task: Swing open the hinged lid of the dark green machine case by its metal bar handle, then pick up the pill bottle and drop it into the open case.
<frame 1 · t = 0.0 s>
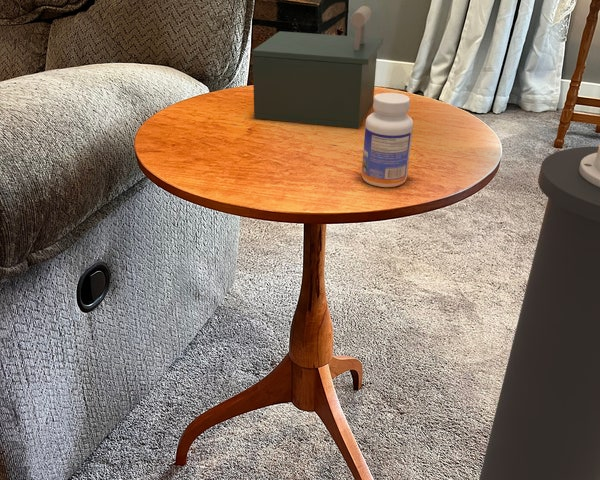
pill bottle: (383, 180, 77), on the table
case lid: (321, 28, 93), point 12 cm above the table, hinge at 0.0°
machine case: (316, 109, 99), on the table
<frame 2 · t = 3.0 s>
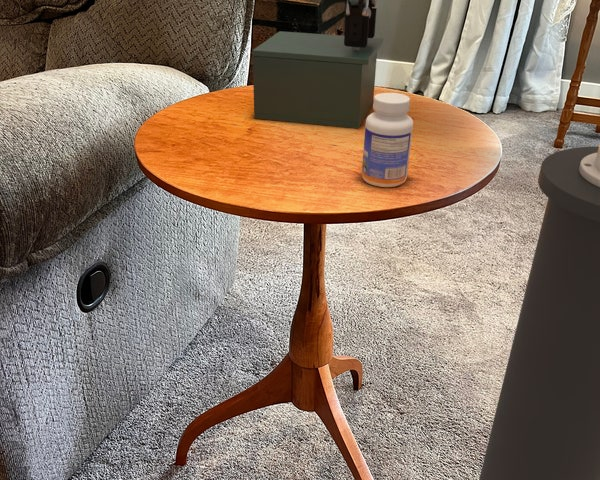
hand: (359, 40, 92), 11 cm above the table, tool pointing down, fingers closed on case lid, 5 cm apart
case lid: (321, 28, 93), point 12 cm above the table, hinge at 0.0°, touching gripper
everything else where it was.
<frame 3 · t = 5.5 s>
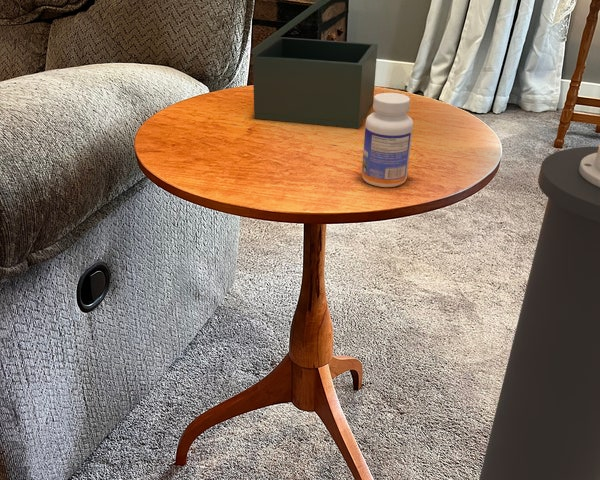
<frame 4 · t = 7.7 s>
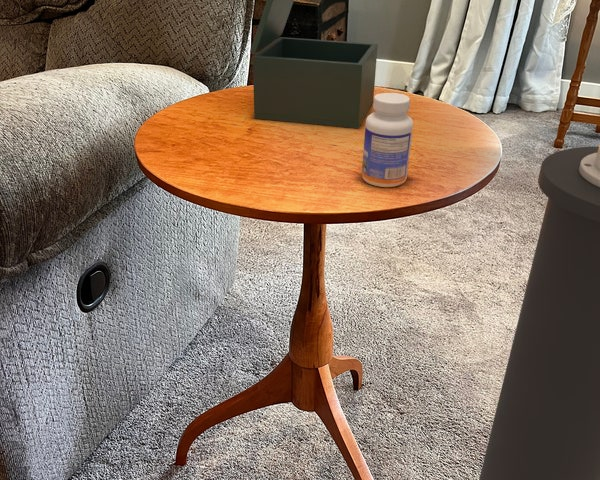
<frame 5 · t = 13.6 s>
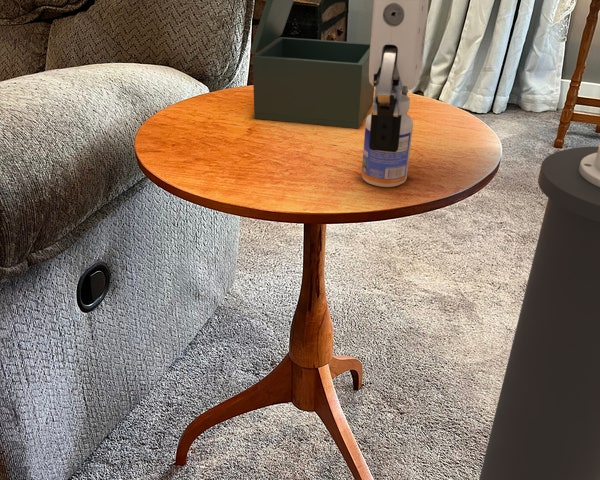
hand: (387, 139, 74), 5 cm above the table, tool pointing down, fingers closed on pill bottle, 5 cm apart
pill bottle: (383, 180, 77), on the table, touching gripper
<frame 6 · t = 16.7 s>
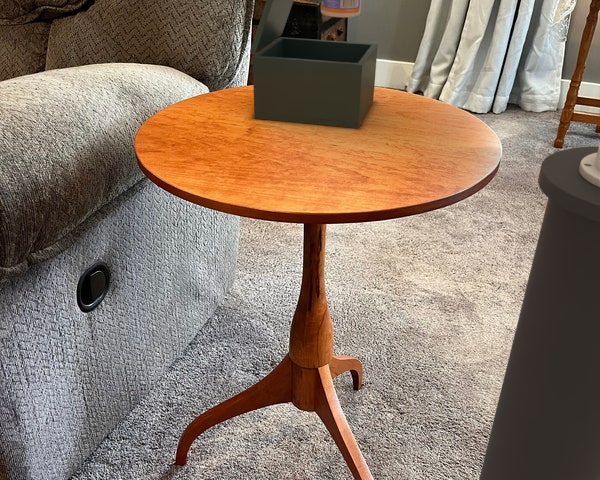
pill bottle: (340, 15, 86), point 15 cm above the table, touching gripper
when the fingers open (12 cm above the table, at t = 19.7 s): pill bottle drops 6 cm, resting on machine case.
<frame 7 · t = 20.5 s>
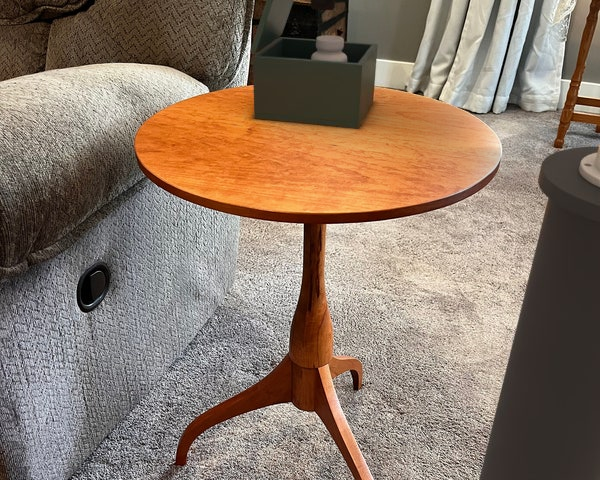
hand: (330, 3, 90), 15 cm above the table, tool pointing down, fingers open, 9 cm apart
pill bottle: (327, 106, 99), point 1 cm above the table, touching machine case
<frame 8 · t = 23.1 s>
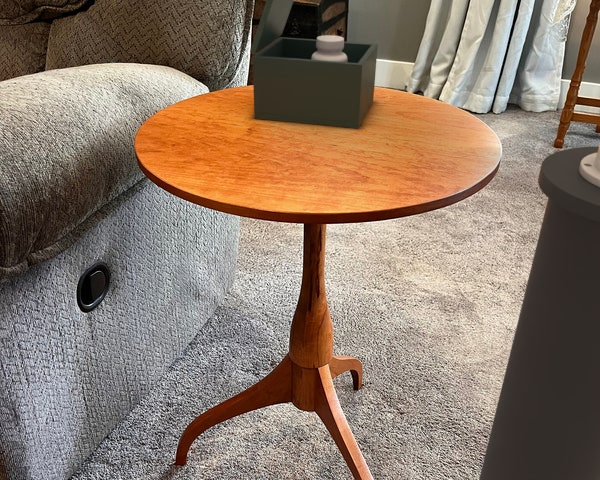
at the end: case lid at +69° (first picture: +0°); pill bottle inside the target area in the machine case (1.7 cm from its centre), point 0.6 cm above the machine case's base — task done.
